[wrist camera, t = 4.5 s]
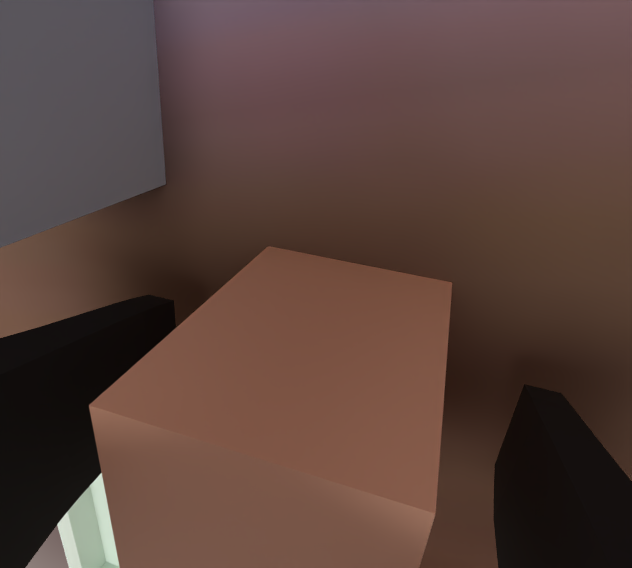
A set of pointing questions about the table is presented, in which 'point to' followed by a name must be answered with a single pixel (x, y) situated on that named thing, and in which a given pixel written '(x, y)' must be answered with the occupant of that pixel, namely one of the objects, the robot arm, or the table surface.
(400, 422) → the terracotta block
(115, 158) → the slate block
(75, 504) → the tray
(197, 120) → the table surface
